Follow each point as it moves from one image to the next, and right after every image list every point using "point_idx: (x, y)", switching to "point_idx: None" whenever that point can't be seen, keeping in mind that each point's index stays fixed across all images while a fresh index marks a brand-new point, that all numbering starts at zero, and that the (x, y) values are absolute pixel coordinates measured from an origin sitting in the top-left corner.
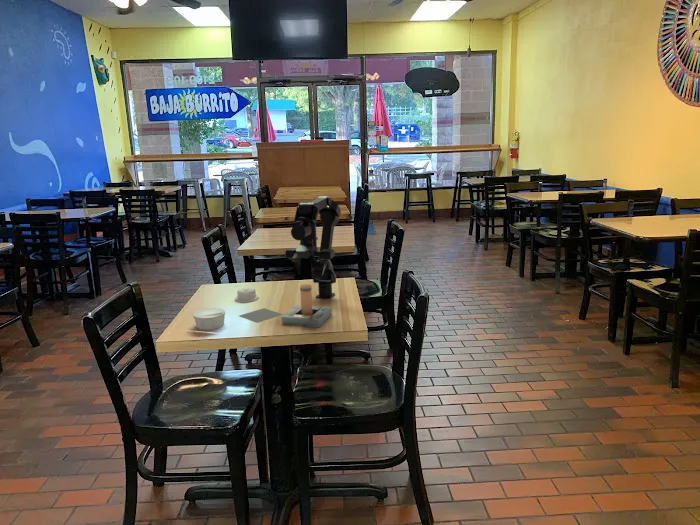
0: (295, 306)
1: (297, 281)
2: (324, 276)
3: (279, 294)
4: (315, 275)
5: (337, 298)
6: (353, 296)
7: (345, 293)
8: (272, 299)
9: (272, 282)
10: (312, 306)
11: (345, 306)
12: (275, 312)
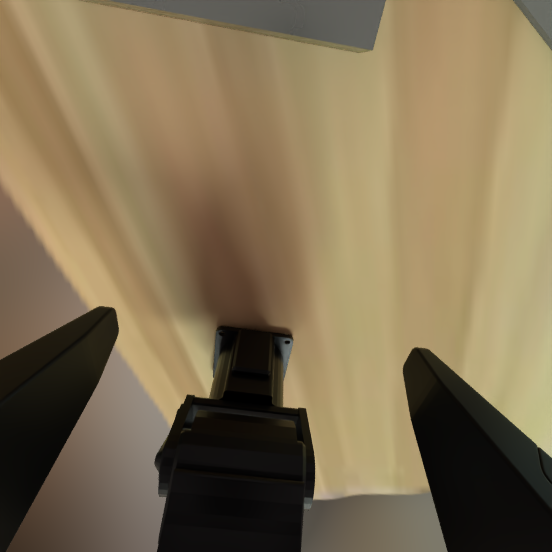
0: (383, 1)
1: (399, 484)
2: (214, 427)
3: (476, 372)
4: (283, 438)
5: (184, 330)
6: (122, 355)
7: (174, 386)
8: (520, 310)
9: None
10: (224, 13)
11: (85, 213)
12: (543, 6)
